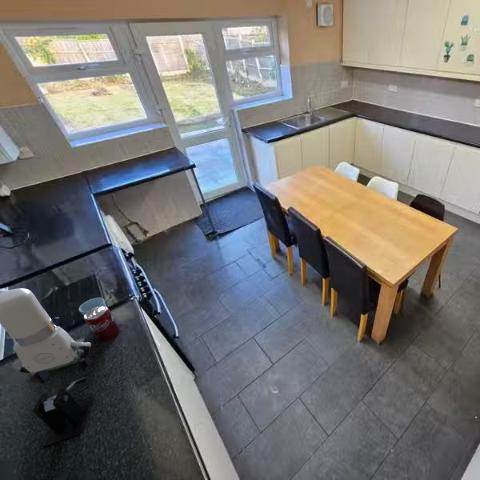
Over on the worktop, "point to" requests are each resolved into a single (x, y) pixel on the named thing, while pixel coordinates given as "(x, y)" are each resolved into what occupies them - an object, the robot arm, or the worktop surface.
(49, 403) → the toaster lever
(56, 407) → the toaster bracket
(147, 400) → the worktop surface
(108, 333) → the soda can
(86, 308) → the cup
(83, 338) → the button block
